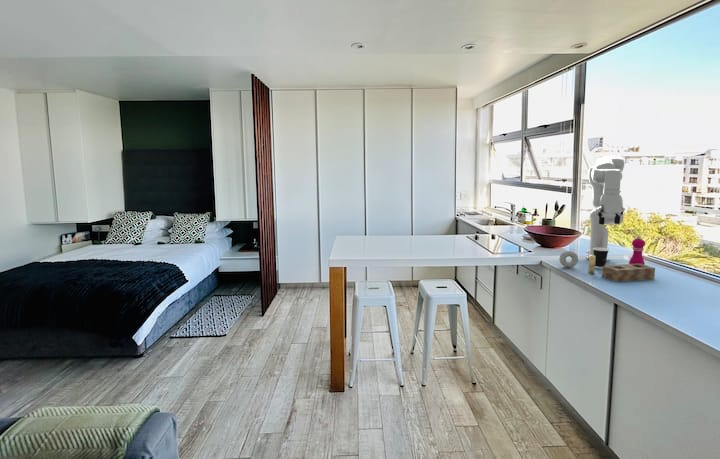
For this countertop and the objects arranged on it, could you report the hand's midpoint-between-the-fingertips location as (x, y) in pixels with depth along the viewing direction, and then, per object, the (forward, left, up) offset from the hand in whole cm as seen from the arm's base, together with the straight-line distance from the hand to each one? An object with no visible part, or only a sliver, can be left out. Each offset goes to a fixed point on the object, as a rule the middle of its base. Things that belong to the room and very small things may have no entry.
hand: (609, 224), depth 226 cm
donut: (-13, -13, -27) cm, 33 cm away
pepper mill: (+3, +17, -27) cm, 32 cm away
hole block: (+13, +3, -27) cm, 30 cm away
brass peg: (+1, -9, -27) cm, 28 cm away
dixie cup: (-9, +4, -27) cm, 29 cm away
